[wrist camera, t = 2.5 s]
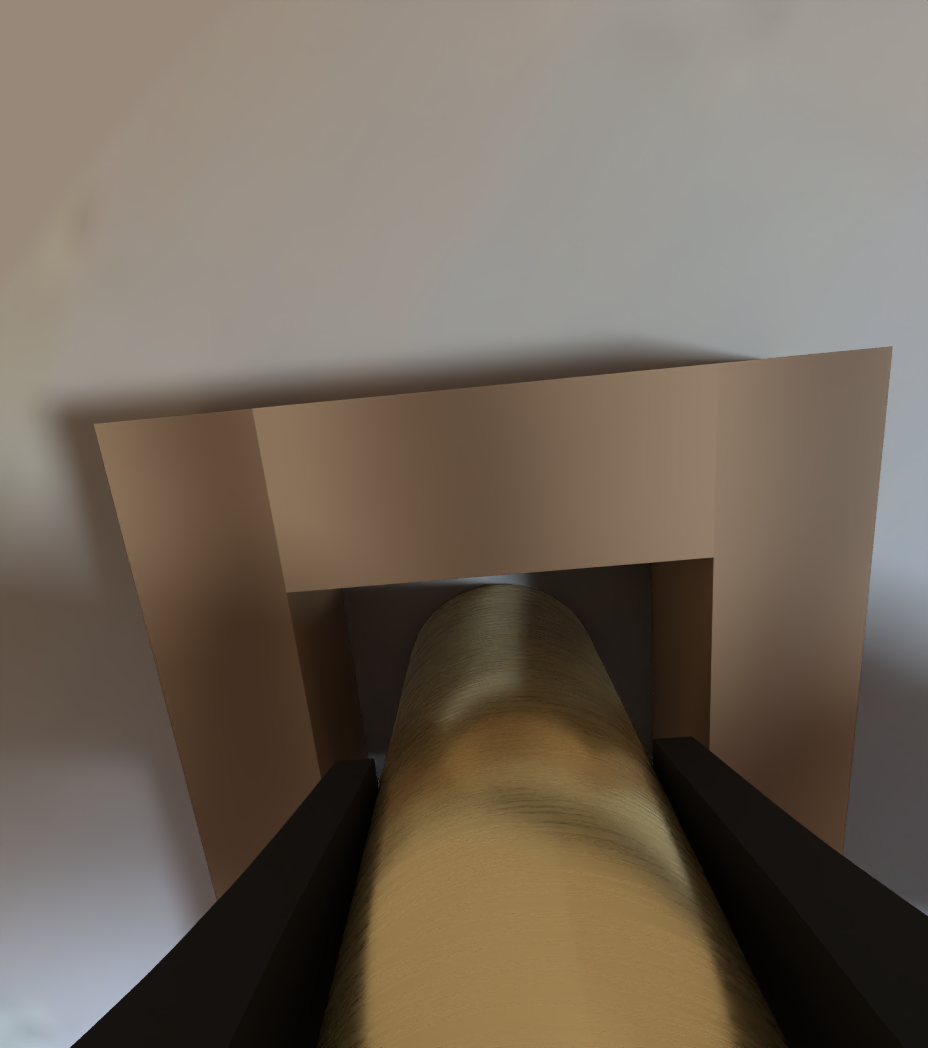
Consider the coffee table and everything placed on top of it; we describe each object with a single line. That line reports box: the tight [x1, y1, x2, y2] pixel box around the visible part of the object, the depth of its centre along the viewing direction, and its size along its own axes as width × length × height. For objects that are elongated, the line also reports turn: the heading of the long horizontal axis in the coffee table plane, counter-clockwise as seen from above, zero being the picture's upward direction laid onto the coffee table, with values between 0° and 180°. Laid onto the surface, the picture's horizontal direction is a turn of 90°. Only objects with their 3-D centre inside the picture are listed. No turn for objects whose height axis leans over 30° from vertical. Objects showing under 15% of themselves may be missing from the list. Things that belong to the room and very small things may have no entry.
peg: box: [316, 585, 789, 1048], centre depth 7 cm, size 4×4×10 cm
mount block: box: [94, 346, 893, 901], centre depth 12 cm, size 12×26×3 cm, turn 5°
